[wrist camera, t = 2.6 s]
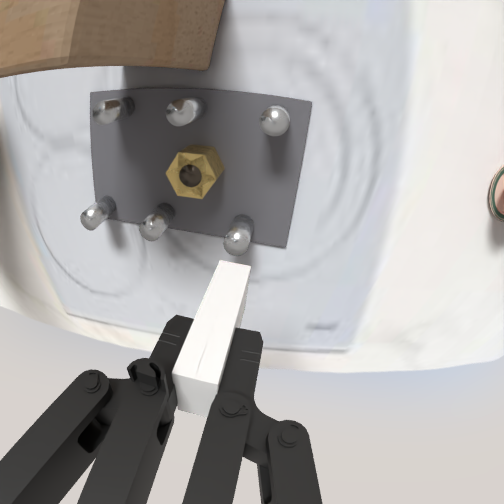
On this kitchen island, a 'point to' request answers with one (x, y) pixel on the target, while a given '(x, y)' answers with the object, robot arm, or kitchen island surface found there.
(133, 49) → the wooden block
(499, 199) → the apple
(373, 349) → the kitchen island surface
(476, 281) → the kitchen island surface
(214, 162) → the nut
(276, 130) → the set of silver pegs
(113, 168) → the grey flat plate
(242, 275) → the robot arm
